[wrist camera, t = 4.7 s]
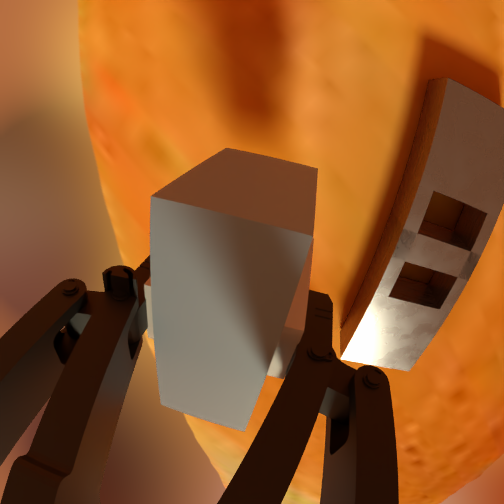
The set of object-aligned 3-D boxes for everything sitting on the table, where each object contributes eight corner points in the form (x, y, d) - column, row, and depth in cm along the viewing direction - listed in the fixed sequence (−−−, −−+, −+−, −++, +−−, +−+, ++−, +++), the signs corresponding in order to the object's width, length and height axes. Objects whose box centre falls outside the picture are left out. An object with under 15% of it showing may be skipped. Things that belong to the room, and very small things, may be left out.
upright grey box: (245, 136, 16) (151, 196, 7) (318, 153, 15) (313, 236, 7) (221, 284, 21) (161, 404, 12) (278, 299, 20) (244, 431, 12)
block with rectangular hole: (428, 79, 18) (448, 77, 15) (502, 118, 17) (527, 124, 14) (340, 331, 31) (340, 358, 28) (403, 344, 30) (409, 371, 27)
